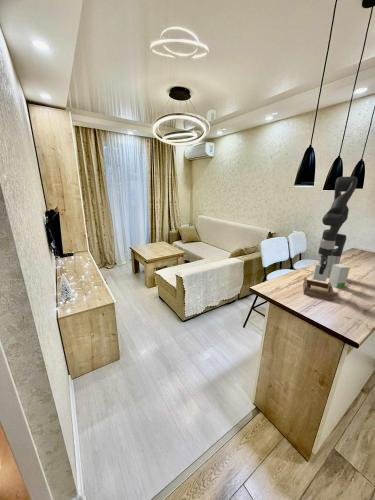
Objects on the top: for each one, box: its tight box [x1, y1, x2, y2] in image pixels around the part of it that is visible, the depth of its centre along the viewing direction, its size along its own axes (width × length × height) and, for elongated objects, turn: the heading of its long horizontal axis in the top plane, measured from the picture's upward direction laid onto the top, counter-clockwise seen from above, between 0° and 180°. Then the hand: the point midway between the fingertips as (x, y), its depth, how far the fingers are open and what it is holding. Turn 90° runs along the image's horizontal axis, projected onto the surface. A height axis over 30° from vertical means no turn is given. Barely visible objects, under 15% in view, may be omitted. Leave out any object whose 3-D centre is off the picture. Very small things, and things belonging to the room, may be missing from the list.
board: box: [312, 262, 329, 283], centre depth 132 cm, size 3×7×10 cm, turn 63°
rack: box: [302, 277, 335, 301], centre depth 132 cm, size 16×15×6 cm
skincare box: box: [328, 263, 351, 289], centre depth 142 cm, size 8×7×16 cm
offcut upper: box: [310, 285, 328, 292], centre depth 129 cm, size 4×9×2 cm, turn 63°
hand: (320, 272), depth 132 cm, fingers closed on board, 3 cm apart
